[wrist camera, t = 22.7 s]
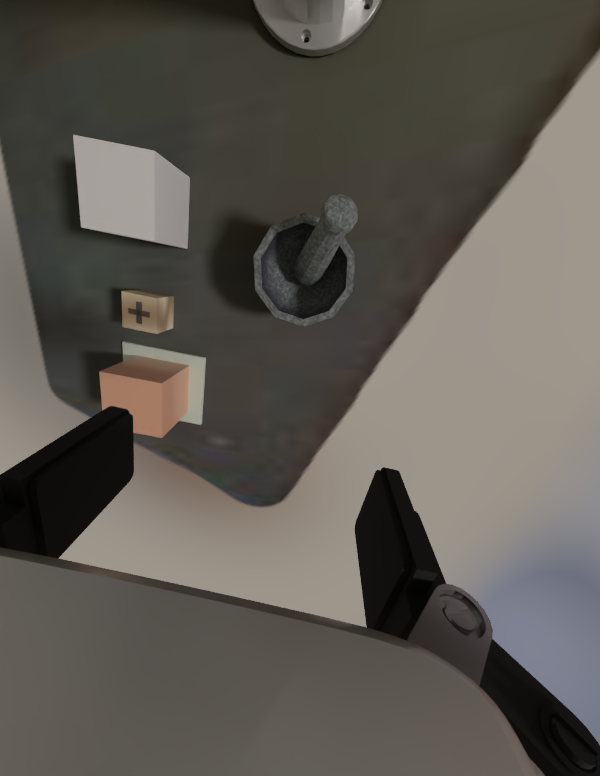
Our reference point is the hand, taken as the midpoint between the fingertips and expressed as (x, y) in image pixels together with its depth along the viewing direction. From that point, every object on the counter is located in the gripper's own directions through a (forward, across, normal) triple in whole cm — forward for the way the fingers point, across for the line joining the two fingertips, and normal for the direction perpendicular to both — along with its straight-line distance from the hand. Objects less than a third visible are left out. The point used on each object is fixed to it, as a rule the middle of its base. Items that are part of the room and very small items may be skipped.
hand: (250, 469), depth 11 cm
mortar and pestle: (+27, 0, -7) cm, 28 cm away
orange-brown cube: (+26, +17, +11) cm, 33 cm away
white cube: (+27, +18, -10) cm, 34 cm away
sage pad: (+27, +17, +11) cm, 34 cm away
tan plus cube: (+27, +18, +1) cm, 33 cm away
